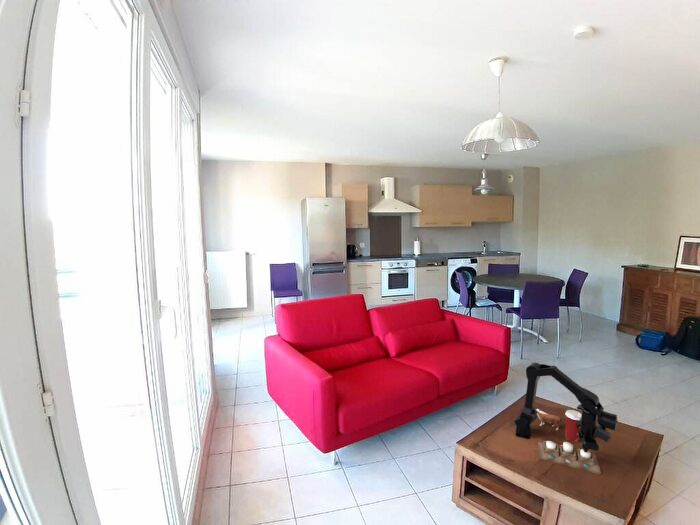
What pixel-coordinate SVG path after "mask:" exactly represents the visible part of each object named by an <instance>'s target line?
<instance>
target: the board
mask: <svg viewBox="0 0 700 525" xmlns="http://www.w3.org/2000/svg"><path fill="white" fill-rule="evenodd" d="M547 441H548V440H543V441H542V442H540V441H538V442H537V446H538V447H537V448H538V458H539V459H541V460H544V461H548V462H551V463H554V464H559V465H564V466H566V467H570V468H573V469H574V468H575V469H578V470H582V471H586V472H589V473H594V474H597V475H600V476H601V475H602V472H601V468H600V465H599V462H598V460H597V459H598V458H597V456H596V455H595V454H593V452H592V451H589V452H590V453H591V457H590V458H586V457H582V456H580V450H581V449H580V448H575V447H573V454H570V453H566V452H563V444H560V443H559V445H558V443H555V442H554V443H555V444H556V449H555V450H554V449H550V448H546V442H547Z"/></svg>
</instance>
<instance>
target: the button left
mask: <svg viewBox="0 0 700 525" xmlns="http://www.w3.org/2000/svg"><path fill="white" fill-rule="evenodd" d="M546 441H547V442H546V448H550V449H554V450H555V449H556V444H557V443H556V444H555V442H554V441H552V440H546Z"/></svg>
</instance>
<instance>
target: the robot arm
mask: <svg viewBox="0 0 700 525" xmlns="http://www.w3.org/2000/svg"><path fill="white" fill-rule="evenodd" d="M525 374H526V375H525V376H526V379H527V386H526V392H525V400H524V406H523V408H522V410H521V412H520V415H518V417H517V418H516V419H515V420H514V424H515V436H516V437H519V438H522V439H527V440H530V437H531V434H532V426H531V424H532V423H534V422H535V421H536V420H537V418H538V415H537V413H538V411H537V410H536V408H535V403H536V395H537V388H538V382H539V381H540V378H541V377H547V376H548V377H552V378H553V379H555V380H556V382H558V383H559V384H561V385H562V386H563V387H564V388H565V389H567V390H568V391H569V392H570V393H571V394H572V395H574V396H575V398H576V399H577V401H578V402H579V403H580V404H577V407H576V409H577V410H578V411H579V410H580V411H581V419H580V421H577V422H576V427H577V428H579V430H580V432H578V435H579V441H580V444H581V447H582V449H583V450H584V452H586V453H587V452H588V451H589V450H593V451H596V452H599V451H600V444H599V442H598V441H597V440H596V439H597V438H599V439H601V440H602V441H604V442H605V443H608V442H609V440H610V439H611V437H612V436H611V433H610V432H609V431H608V429H609V430H611V431H614V432H616V431H617V429H618V422H619V421H618V420H619V419H618V415H617V414H615V413H611V412H608V411H604V410H605V408H604V407H603V405H602V403H601V402H600V398H599V396H598V395H597V394H596V393H594V392H592V391H591V390H589V389H586V388H583V387H582V386H580V385H579V384H578V383H577V382H575V381H574V380H573V379H572V378H570V377H569V376H568V375H567V374H565V373H564V372H563V371H562V370H560V369H559V368H558V367H557V366H556V365H549V364H546V363H545V364H544V363H539V362H532V363H531V364H530V365H528V366H527V367H526V369H525ZM597 424H598V425H597ZM579 426H580V427H579Z"/></svg>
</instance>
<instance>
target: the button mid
mask: <svg viewBox="0 0 700 525" xmlns="http://www.w3.org/2000/svg"><path fill="white" fill-rule="evenodd" d="M562 445H563V452H566V453H570V454H573V448H574V445H573V444H572V442H570V441H563V443H562Z"/></svg>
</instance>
